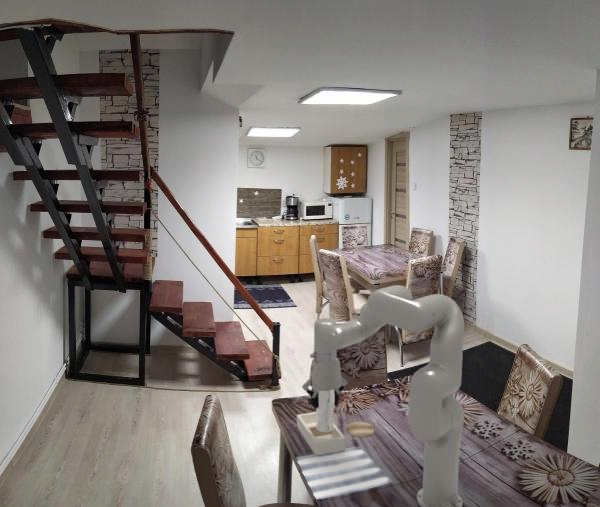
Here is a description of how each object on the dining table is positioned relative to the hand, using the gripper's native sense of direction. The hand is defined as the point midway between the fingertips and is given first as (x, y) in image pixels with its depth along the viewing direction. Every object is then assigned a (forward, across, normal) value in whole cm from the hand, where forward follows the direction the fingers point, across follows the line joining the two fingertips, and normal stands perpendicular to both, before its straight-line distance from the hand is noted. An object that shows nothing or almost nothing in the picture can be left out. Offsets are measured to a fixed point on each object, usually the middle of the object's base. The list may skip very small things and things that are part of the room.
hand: (324, 405), depth 183 cm
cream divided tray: (+15, 0, +5) cm, 15 cm away
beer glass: (+8, 0, 0) cm, 8 cm away
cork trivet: (+15, +16, +6) cm, 22 cm away
